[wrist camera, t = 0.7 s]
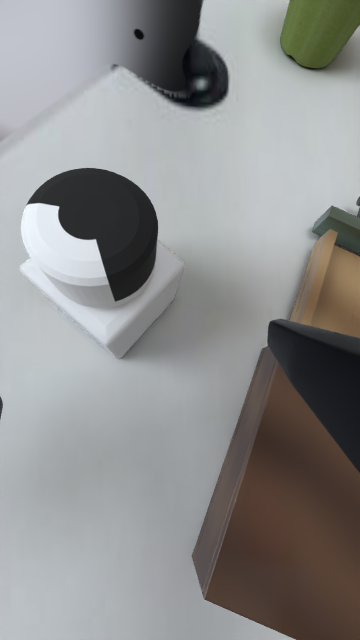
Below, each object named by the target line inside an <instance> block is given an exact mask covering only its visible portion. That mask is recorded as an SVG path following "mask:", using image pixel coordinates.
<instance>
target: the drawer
mask: <svg viewBox="0 0 360 640" xmlns="http://www.w3.org/2000/svg"><path fill="white" fill-rule="evenodd" d="M356 204H357V205H358V206H360V197H359V198H358V200H357V203H356ZM312 232H313V233H315V234H317V235H320V236H322V237H320V238H319V239H318V240H317V241H316V242H315V243H314V246H313V249H312V252H311V256H310V259H309V262H308V265H307V268H306V271H305V274H304V277H303V281H302V284H301V287H300V290H299V293H298V296H297V299H296V302H295V306H294V309H293V312H292V315H291V318H290V321H292V322H296V323H300V324H304V325H308V326H313V327H317V328H321V329H325V330H329V331H333V332H337V333H341V334H345V335H349V336H353V337H357V338H360V256H358V255H356V254H353V253H351V252H349V251H347V250H345V249H342V248H340V247H338V246H336V245H334V244H335V243H337V244H339V245H342V246H344V247H346V248H348V249H351V250H353V251H355V252H357V253H359V254H360V208H359V211H358V215H357V217H356V216H354V215H352V214H349V213H347V212H345V211H343V210H341V209H338V208H336V207H334V206H331V207H330V208H329V209H328V210H327V211H326V212H325V213H324V214H323V215H322V216H321V217H320V218H319V219H318V220H317V221H316V222H315V224H314V227H313V230H312Z"/></svg>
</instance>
